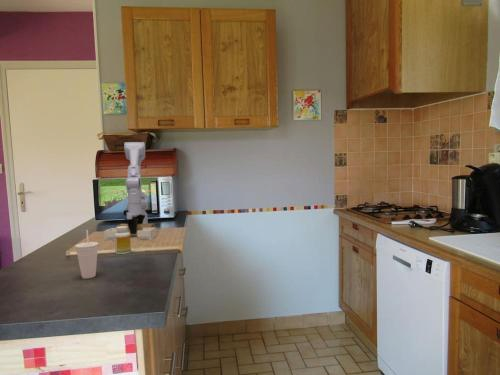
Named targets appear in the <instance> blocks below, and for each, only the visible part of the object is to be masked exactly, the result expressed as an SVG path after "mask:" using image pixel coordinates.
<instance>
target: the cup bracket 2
mask: <svg viewBox="0 0 500 375" xmlns="http://www.w3.org/2000/svg"><path fill="white" fill-rule="evenodd" d="M136 237H137V240H138V239H141V240H140V241H152V240H153V239H154V238H156V237H157V227H154V228H143V230H138V231H137V236H136ZM152 238H153V239H152ZM142 239H143V240H142Z"/></svg>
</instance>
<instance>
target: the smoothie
mask: <svg viewBox="0 0 500 375" xmlns="http://www.w3.org/2000/svg"><path fill="white" fill-rule="evenodd" d="M85 232H86V234H85V235H86V242H81V243H78V244H75V245H74V250H75V251H76V254H77V260H78V265H79V269H80V275H81V278H82V279H85V280H86V279H92V278H95V277H96V275H97V273H96V272H97V263H98V262H97V261H98V252H99V251H98V248H99V247H100V246H99V244H100V243H99V242H96V241H90V238H89V237H90V236H89V229H86V230H85Z"/></svg>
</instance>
